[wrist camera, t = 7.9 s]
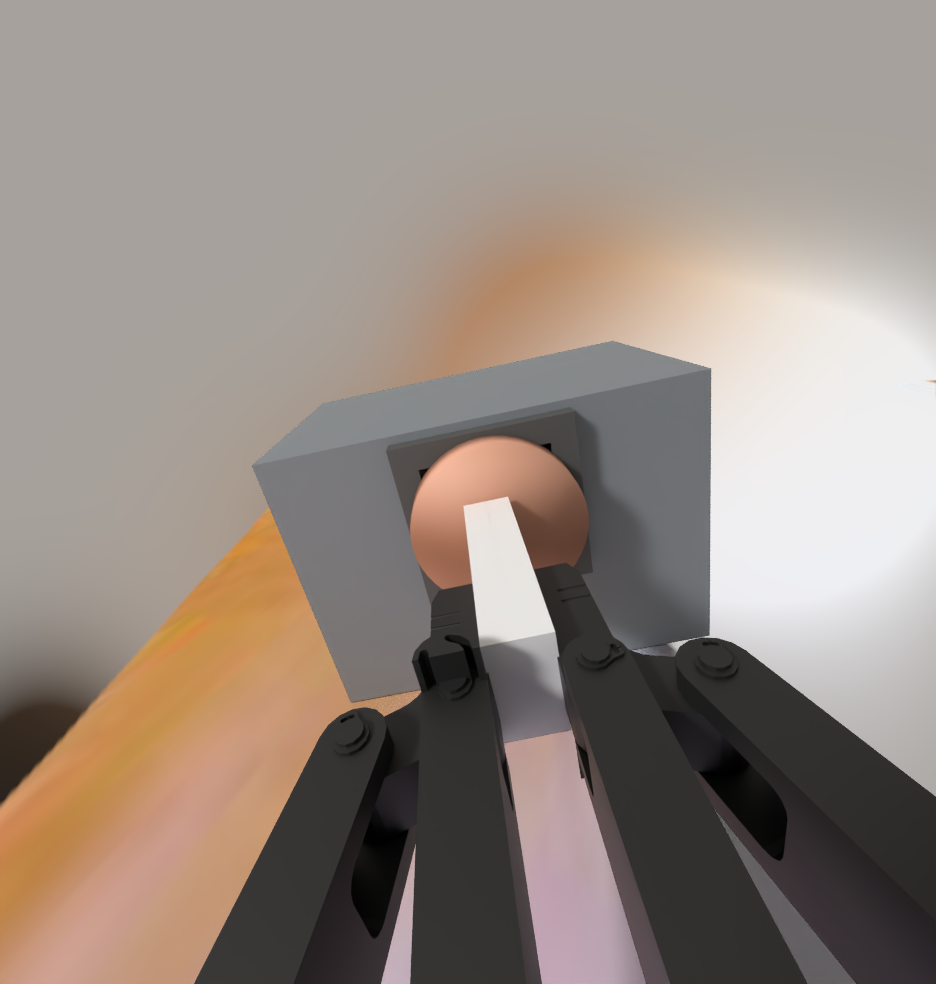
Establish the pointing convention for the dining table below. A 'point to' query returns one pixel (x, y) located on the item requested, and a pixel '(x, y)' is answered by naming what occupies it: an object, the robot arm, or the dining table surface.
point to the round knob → (487, 476)
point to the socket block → (513, 412)
